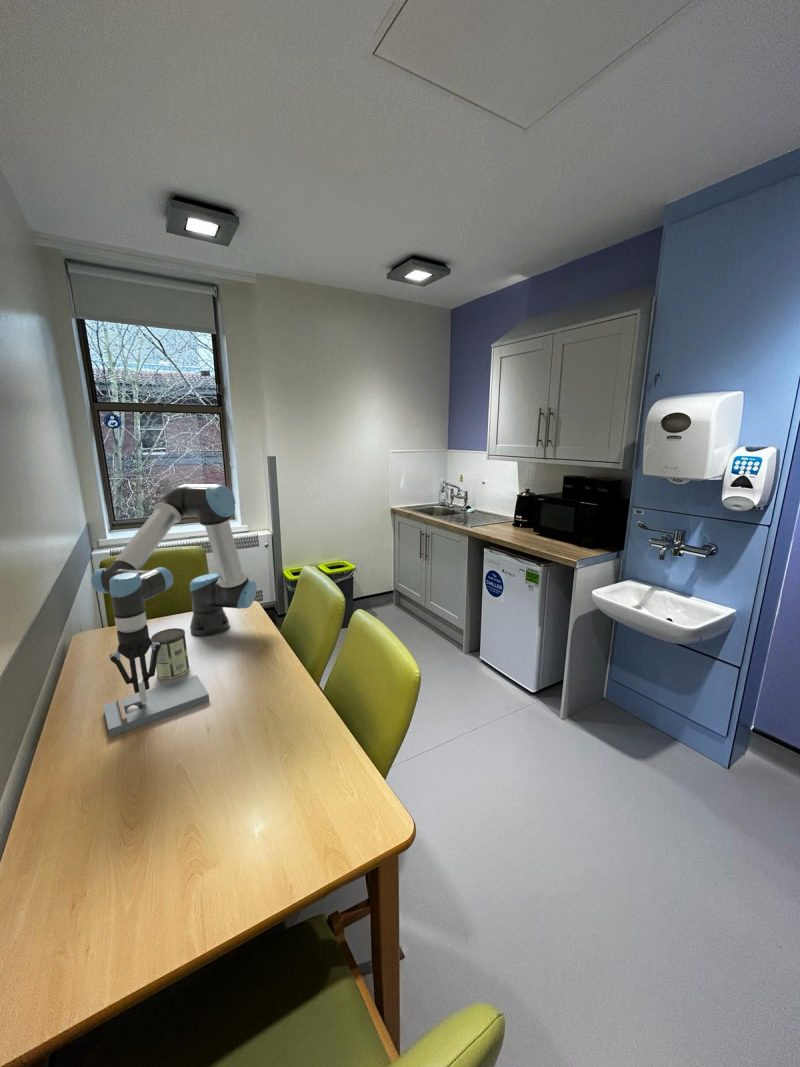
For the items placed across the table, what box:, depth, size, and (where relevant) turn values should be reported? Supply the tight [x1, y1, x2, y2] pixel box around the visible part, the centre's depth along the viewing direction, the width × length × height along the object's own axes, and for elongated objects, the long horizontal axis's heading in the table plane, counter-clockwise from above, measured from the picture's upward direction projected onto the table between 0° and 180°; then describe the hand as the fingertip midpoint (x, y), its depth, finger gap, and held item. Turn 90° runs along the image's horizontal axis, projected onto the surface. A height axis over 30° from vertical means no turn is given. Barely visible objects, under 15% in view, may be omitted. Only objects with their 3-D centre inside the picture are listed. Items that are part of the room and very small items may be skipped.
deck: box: [102, 674, 210, 738], centre depth 130 cm, size 26×14×4 cm, turn 129°
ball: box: [126, 705, 140, 714], centre depth 126 cm, size 3×3×3 cm
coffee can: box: [150, 627, 190, 680], centre depth 148 cm, size 10×10×14 cm
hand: (143, 700), depth 128 cm, fingers closed
